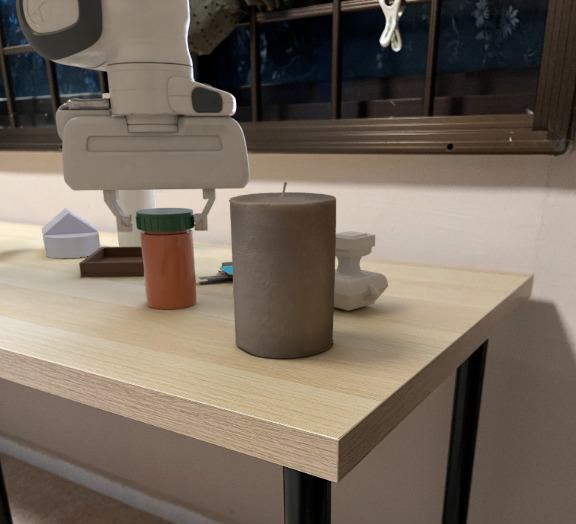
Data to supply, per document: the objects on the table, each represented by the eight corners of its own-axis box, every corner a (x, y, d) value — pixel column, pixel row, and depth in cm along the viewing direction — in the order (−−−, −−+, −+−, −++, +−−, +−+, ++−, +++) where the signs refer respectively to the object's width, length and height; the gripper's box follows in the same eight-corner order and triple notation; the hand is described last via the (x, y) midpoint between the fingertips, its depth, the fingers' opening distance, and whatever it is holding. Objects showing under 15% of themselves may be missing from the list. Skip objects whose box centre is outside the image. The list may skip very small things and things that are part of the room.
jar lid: (182, 232, 67) (181, 215, 66) (127, 231, 68) (125, 213, 67) (202, 224, 73) (201, 208, 72) (151, 223, 74) (149, 207, 73)
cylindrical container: (134, 252, 105) (118, 92, 95) (111, 248, 109) (93, 94, 100) (167, 247, 110) (155, 94, 100) (144, 243, 114) (130, 95, 105)
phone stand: (214, 294, 78) (213, 281, 77) (189, 275, 88) (188, 264, 87) (351, 279, 85) (352, 267, 84) (314, 264, 95) (314, 253, 94)
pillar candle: (340, 331, 63) (344, 178, 57) (324, 363, 54) (327, 187, 48) (250, 325, 65) (245, 177, 59) (220, 355, 56) (211, 185, 50)
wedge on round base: (44, 247, 110) (46, 260, 99) (38, 209, 108) (39, 217, 97) (96, 244, 113) (103, 256, 102) (91, 206, 111) (98, 214, 100)
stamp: (300, 304, 73) (301, 232, 70) (338, 294, 77) (340, 226, 74) (357, 319, 67) (360, 242, 63) (395, 308, 71) (400, 235, 68)
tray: (80, 276, 88) (78, 263, 87) (102, 259, 100) (101, 246, 99) (166, 275, 88) (165, 261, 87) (177, 258, 100) (176, 246, 99)
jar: (142, 309, 71) (134, 221, 67) (151, 297, 76) (143, 214, 73) (194, 308, 71) (188, 220, 67) (199, 296, 77) (193, 213, 73)
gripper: (44, 96, 61) (64, 236, 66) (247, 96, 62) (251, 233, 68) (61, 99, 67) (78, 228, 72) (247, 99, 68) (250, 225, 74)
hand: (163, 230), depth 70 cm, fingers open, 7 cm apart
